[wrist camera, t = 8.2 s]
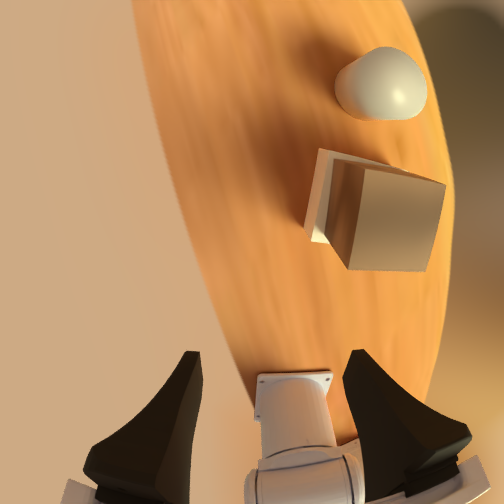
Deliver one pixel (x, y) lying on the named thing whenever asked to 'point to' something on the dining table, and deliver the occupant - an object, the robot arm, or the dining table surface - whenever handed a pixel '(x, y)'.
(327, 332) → the dining table surface
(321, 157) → the cream block
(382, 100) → the cream smooth round part
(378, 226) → the walnut cube
